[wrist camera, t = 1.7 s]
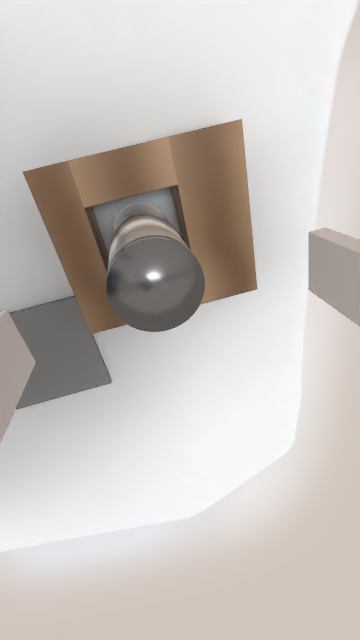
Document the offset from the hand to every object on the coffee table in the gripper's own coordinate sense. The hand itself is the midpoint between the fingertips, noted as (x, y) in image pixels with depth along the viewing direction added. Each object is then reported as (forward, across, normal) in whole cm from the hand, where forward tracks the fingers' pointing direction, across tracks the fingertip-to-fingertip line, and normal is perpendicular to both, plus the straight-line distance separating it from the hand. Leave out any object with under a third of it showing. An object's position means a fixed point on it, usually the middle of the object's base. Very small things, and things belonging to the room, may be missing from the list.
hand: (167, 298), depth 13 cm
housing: (+14, 0, 0) cm, 14 cm away
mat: (+14, -12, -9) cm, 21 cm away
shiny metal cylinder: (+14, -1, 0) cm, 14 cm away
